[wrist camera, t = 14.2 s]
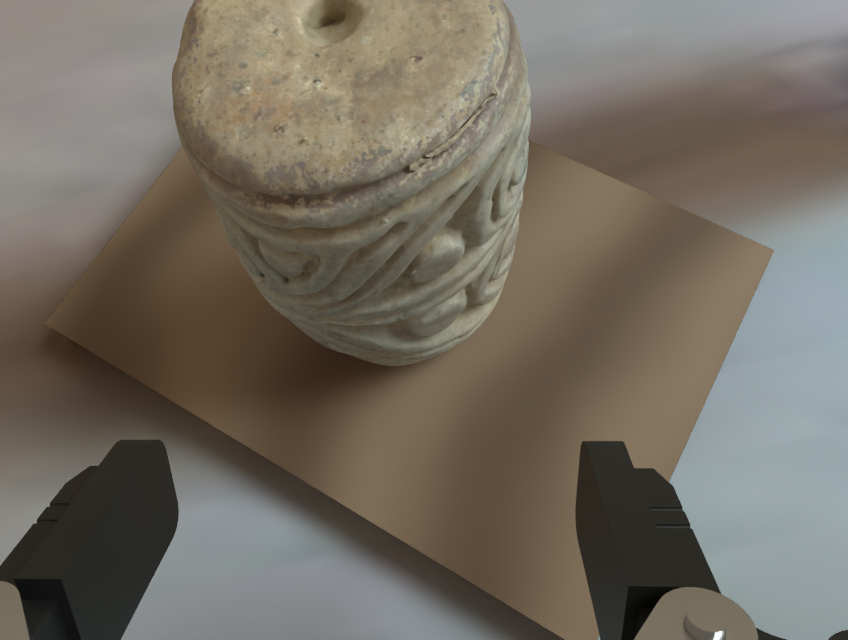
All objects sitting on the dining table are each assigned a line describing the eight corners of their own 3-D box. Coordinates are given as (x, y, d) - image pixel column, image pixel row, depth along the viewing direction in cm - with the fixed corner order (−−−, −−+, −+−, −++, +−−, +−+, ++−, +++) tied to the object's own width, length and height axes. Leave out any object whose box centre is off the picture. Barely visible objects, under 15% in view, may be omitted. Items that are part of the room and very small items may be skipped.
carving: (254, 291, 23) (61, 29, 12) (427, 164, 25) (400, -180, 13) (369, 436, 21) (267, 287, 10) (550, 290, 23) (638, 14, 11)
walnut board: (755, 268, 24) (774, 249, 23) (581, 649, 20) (590, 655, 19) (285, 54, 28) (276, 27, 27) (68, 337, 25) (44, 323, 23)
